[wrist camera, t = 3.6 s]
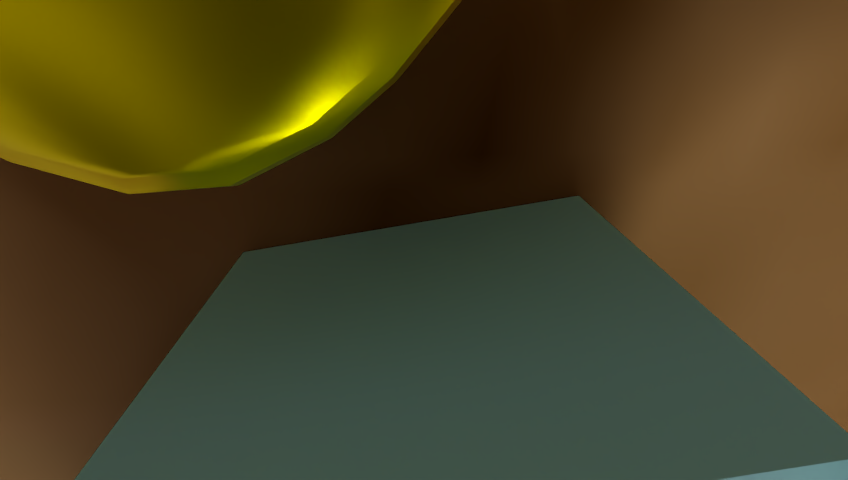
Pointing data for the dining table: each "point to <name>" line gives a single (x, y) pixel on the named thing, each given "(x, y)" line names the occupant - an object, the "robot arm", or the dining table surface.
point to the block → (466, 367)
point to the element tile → (194, 83)
